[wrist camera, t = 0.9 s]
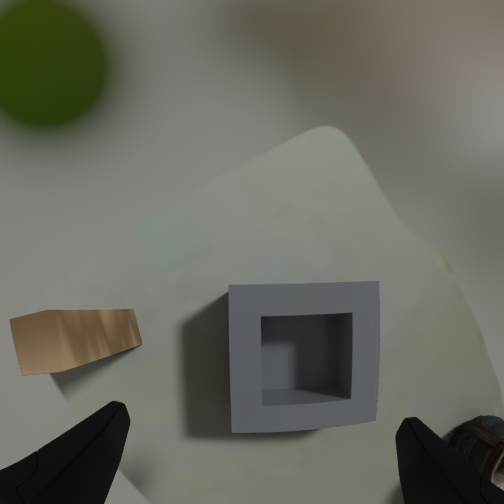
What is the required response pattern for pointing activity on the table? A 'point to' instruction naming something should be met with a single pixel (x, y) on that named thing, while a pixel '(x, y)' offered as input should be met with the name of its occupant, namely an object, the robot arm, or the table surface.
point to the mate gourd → (483, 446)
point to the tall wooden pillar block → (71, 338)
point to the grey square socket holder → (303, 355)
